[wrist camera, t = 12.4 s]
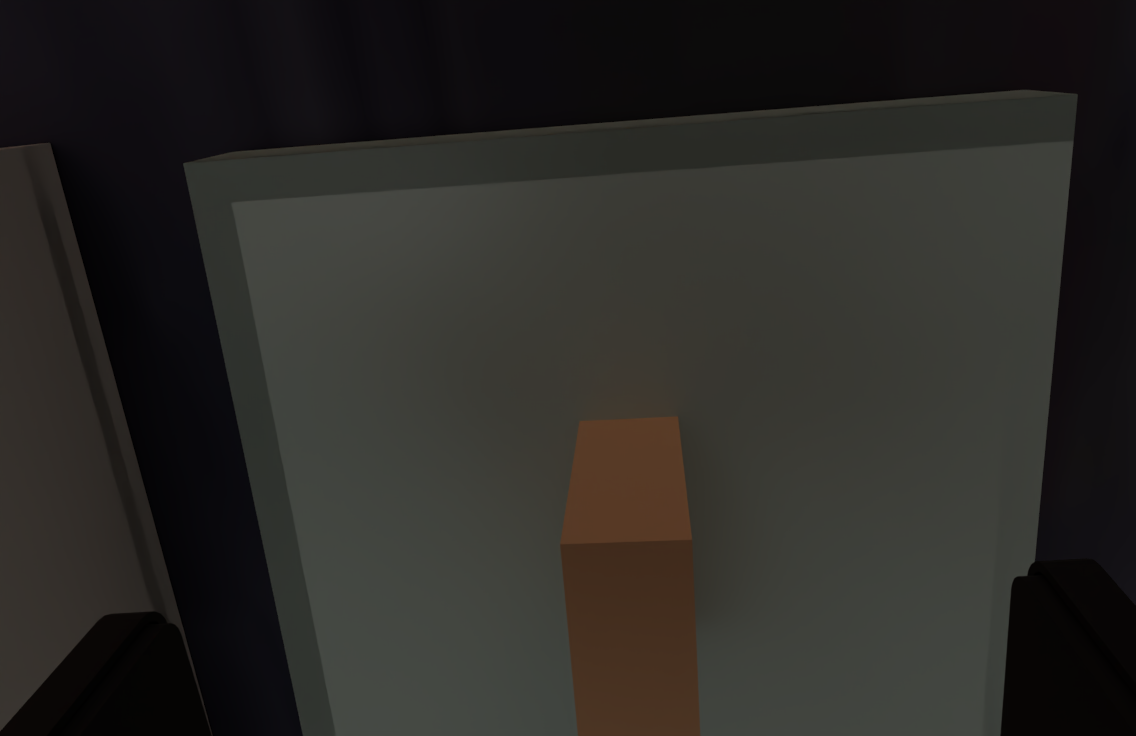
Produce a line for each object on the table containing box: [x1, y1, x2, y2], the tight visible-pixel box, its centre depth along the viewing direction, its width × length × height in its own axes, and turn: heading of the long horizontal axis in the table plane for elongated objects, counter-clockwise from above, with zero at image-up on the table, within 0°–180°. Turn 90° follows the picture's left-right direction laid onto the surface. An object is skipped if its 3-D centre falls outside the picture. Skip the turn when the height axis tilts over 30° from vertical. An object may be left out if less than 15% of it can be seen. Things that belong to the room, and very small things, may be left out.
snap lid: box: [183, 90, 1078, 736], centre depth 19 cm, size 22×16×7 cm
